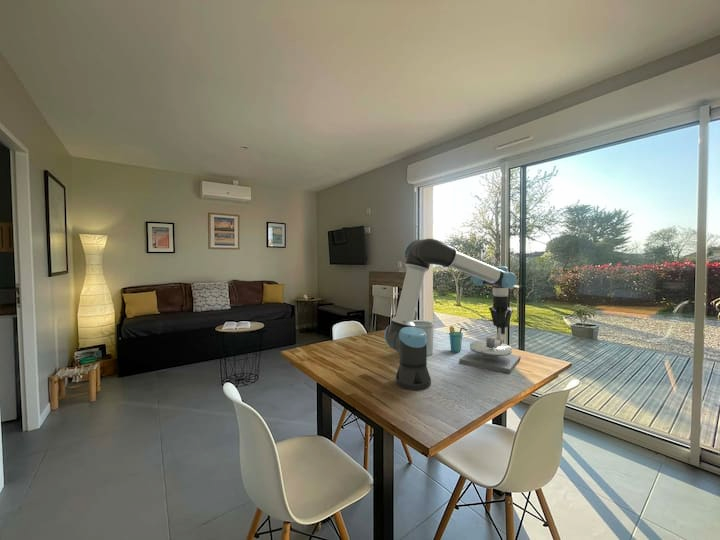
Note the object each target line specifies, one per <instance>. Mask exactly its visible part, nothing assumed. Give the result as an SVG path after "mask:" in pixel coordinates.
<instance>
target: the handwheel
mask: <svg viewBox="0 0 720 540" xmlns="http://www.w3.org/2000/svg"><path fill="white" fill-rule="evenodd" d="M469 349H470V351H471V350H472V351H473V352H476V353H479V354H483V355H489V356H506V355H510V354H512V352H513V348H512V346H510V345H508V344H506V343H503V340H498V333H497V332H496V336H492V337H486V340H479V341H478V340H476V341H473V342H470V345H469Z"/></svg>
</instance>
